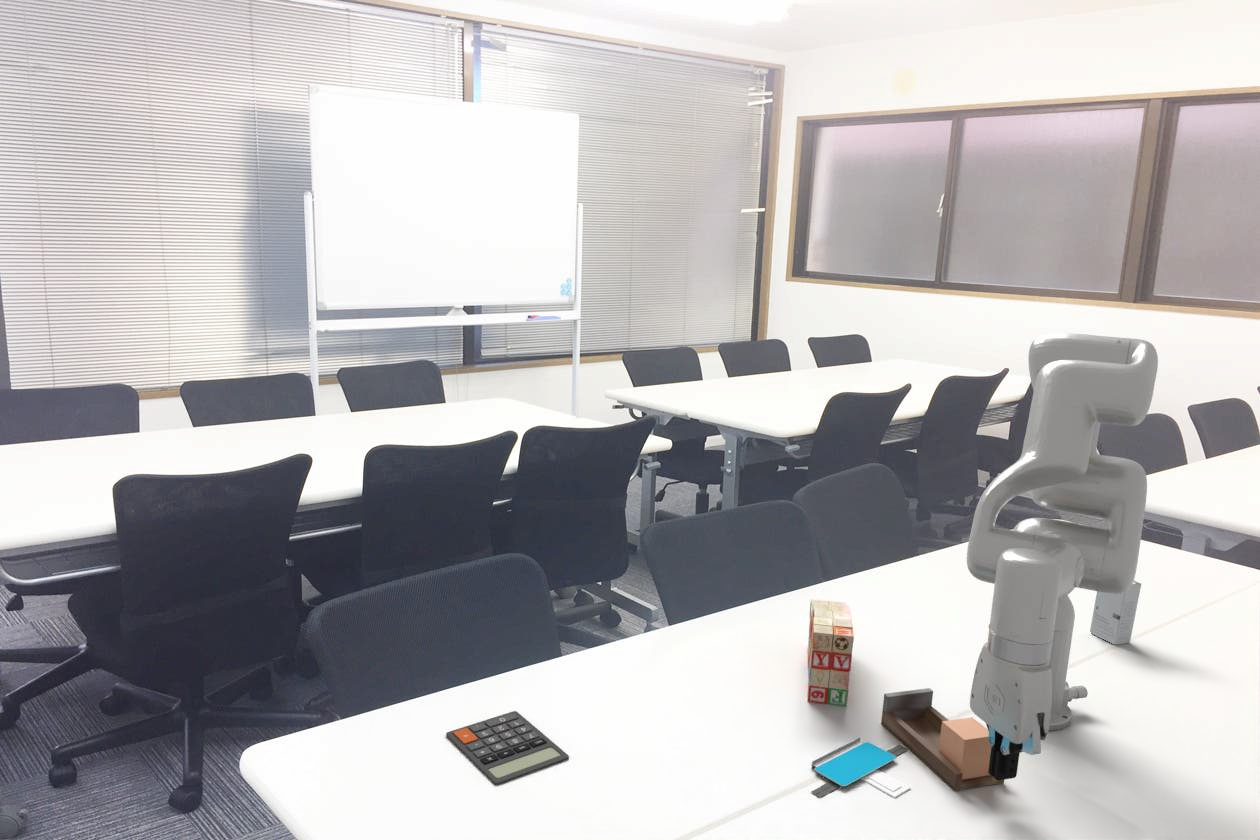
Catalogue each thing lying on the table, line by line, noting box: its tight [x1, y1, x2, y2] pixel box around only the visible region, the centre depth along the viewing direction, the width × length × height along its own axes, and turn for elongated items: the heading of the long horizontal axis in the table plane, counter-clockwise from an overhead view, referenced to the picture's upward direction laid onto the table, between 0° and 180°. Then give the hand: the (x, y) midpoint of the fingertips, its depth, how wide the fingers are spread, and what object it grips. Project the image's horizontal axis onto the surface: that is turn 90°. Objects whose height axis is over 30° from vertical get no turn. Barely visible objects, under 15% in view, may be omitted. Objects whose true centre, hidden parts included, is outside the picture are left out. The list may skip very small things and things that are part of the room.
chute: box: [880, 687, 1005, 792], centre depth 135 cm, size 8×18×5 cm, turn 17°
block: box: [939, 716, 993, 780], centre depth 129 cm, size 5×5×6 cm
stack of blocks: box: [807, 598, 855, 708], centre depth 157 cm, size 21×6×12 cm, turn 170°
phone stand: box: [809, 737, 911, 799], centre depth 129 cm, size 20×12×2 cm, turn 129°
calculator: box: [445, 710, 570, 786], centre depth 132 cm, size 12×1×15 cm
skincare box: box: [1089, 579, 1142, 645], centre depth 176 cm, size 6×4×12 cm
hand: (1002, 775), depth 122 cm, fingers closed
